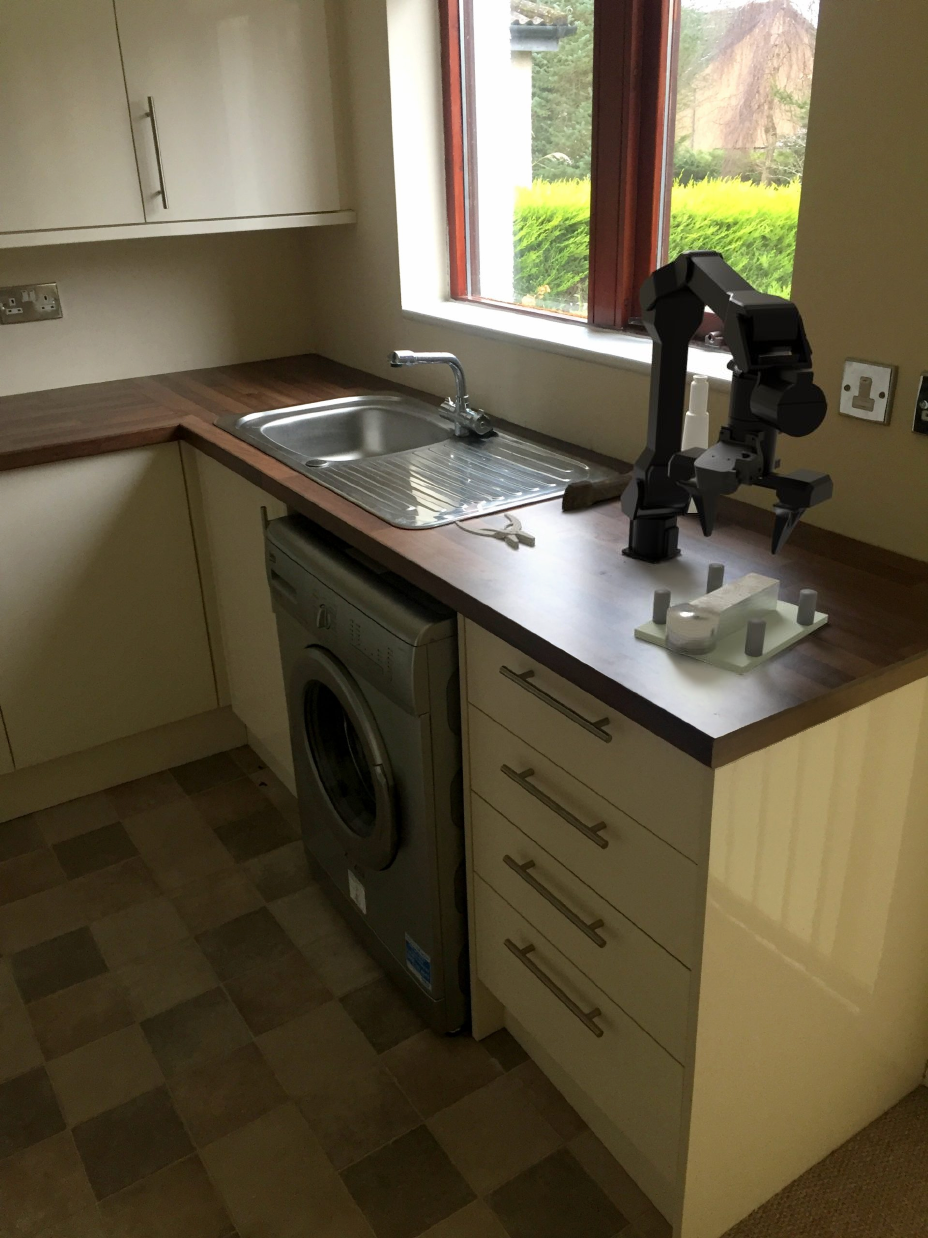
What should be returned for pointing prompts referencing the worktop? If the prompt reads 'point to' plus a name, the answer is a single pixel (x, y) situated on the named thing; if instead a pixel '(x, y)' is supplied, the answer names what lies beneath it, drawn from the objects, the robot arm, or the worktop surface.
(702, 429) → the cosmetic bottle
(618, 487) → the hand tool
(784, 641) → the peg board
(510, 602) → the worktop surface
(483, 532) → the pliers
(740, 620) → the round-ended glossy bar
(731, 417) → the robot arm
